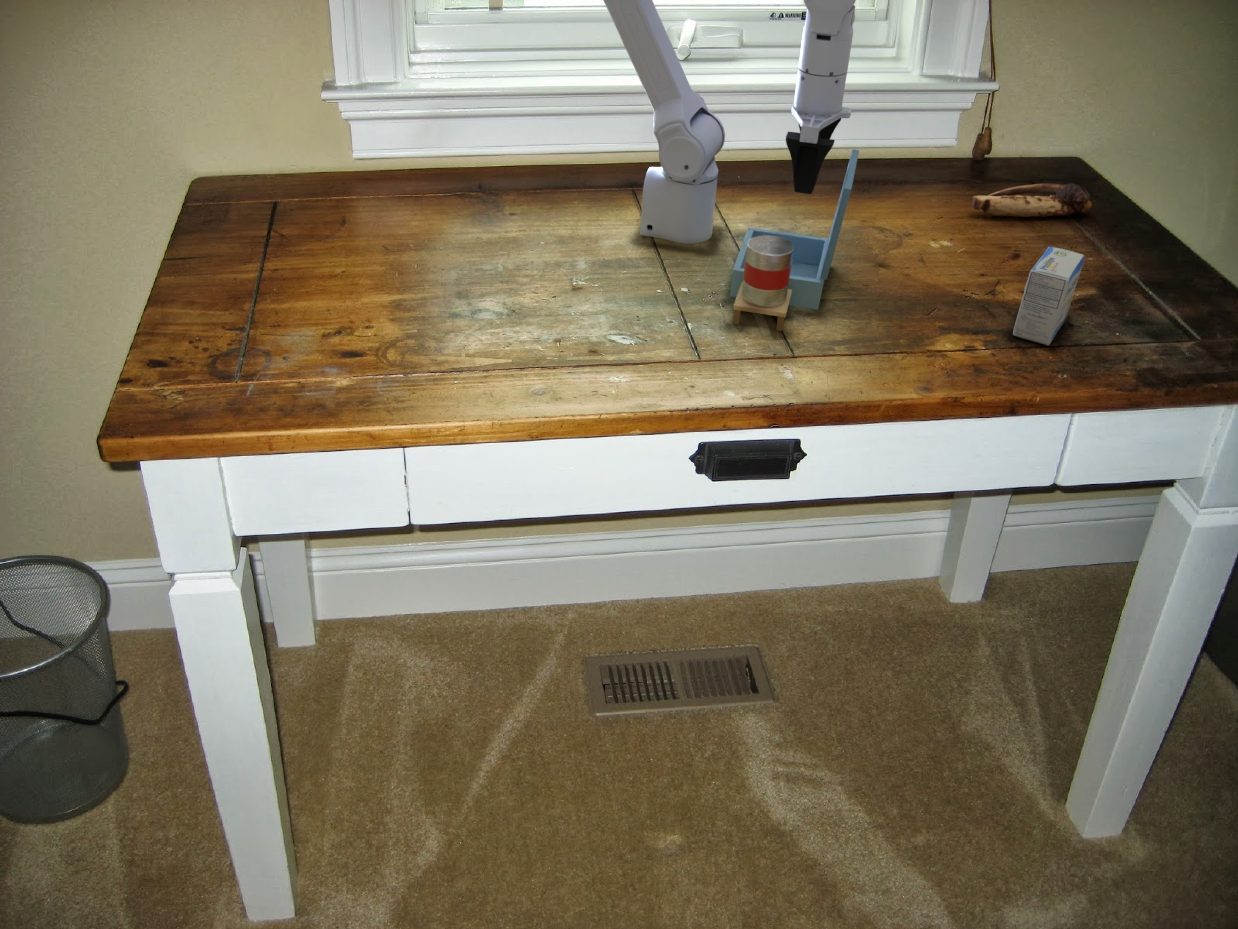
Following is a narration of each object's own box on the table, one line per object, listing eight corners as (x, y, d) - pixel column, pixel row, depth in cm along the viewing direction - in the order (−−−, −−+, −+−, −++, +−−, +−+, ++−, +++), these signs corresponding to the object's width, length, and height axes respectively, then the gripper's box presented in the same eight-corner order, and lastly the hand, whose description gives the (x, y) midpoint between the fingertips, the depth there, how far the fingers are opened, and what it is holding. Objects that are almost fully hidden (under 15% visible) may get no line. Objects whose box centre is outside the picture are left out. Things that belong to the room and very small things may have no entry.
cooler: (728, 301, 129) (732, 269, 127) (744, 257, 139) (748, 226, 137) (816, 315, 128) (822, 282, 125) (826, 269, 137) (832, 238, 135)
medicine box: (1048, 347, 124) (1070, 279, 119) (1010, 336, 125) (1030, 268, 120) (1065, 320, 129) (1087, 254, 124) (1028, 309, 131) (1048, 244, 126)
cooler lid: (844, 187, 118) (851, 189, 118) (852, 148, 128) (859, 150, 128) (819, 278, 125) (826, 280, 125) (829, 234, 135) (835, 236, 135)
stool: (730, 329, 124) (733, 304, 122) (738, 305, 129) (741, 281, 127) (782, 337, 123) (786, 312, 121) (788, 313, 128) (792, 289, 126)
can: (737, 303, 122) (744, 251, 118) (744, 283, 126) (751, 232, 123) (783, 310, 121) (791, 258, 118) (789, 290, 126) (796, 238, 122)
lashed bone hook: (1065, 200, 161) (951, 198, 158) (1075, 169, 158) (959, 167, 155) (1096, 224, 153) (977, 223, 150) (1106, 192, 150) (985, 190, 148)
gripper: (851, 91, 119) (833, 206, 127) (862, 55, 131) (844, 164, 139) (788, 84, 121) (774, 199, 129) (804, 49, 132) (790, 157, 140)
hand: (807, 180), depth 134 cm, fingers open, 7 cm apart
